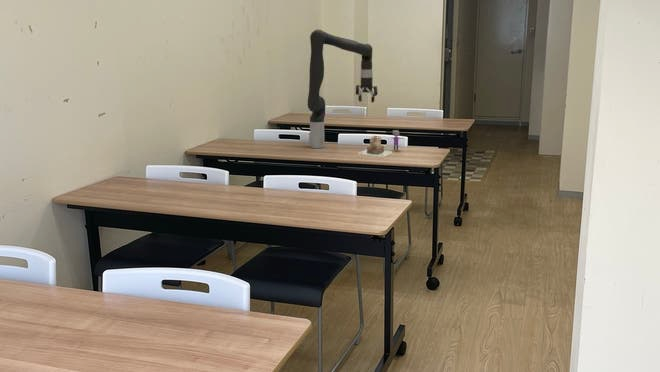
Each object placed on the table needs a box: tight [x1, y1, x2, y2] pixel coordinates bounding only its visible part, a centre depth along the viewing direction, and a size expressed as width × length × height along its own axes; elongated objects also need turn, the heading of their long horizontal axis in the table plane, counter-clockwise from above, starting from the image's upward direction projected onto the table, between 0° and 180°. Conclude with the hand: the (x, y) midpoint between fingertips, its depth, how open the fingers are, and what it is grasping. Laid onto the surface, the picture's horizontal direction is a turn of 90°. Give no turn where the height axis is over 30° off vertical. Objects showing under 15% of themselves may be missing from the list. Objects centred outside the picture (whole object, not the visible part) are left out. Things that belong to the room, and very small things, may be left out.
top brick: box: [369, 135, 382, 148], centre depth 385 cm, size 5×5×7 cm
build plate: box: [357, 148, 393, 158], centre depth 388 cm, size 18×14×2 cm
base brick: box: [366, 144, 385, 155], centre depth 387 cm, size 8×8×4 cm
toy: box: [392, 129, 405, 152], centre depth 389 cm, size 10×6×15 cm, turn 84°
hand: (366, 101), depth 397 cm, fingers open, 8 cm apart
